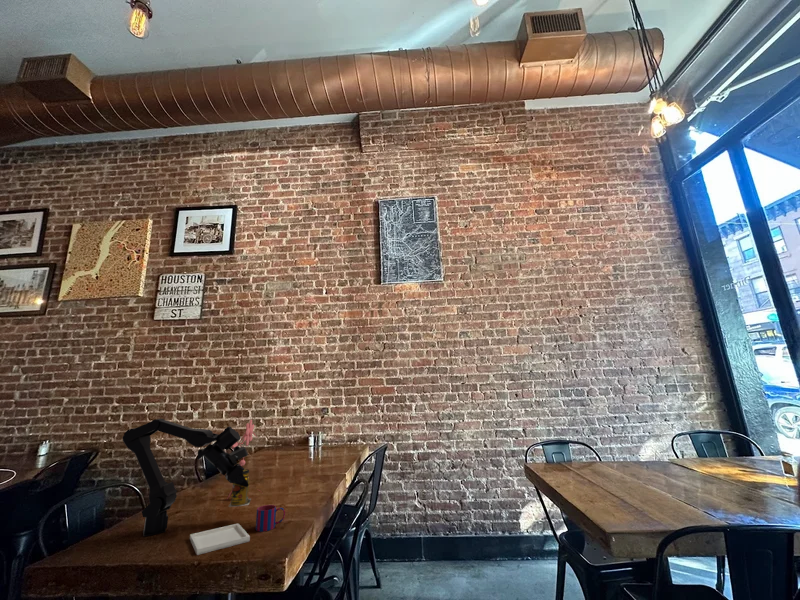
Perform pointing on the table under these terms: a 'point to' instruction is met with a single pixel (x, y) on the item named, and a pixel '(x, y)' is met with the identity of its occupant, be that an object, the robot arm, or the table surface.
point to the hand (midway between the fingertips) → (246, 484)
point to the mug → (267, 518)
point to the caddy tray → (218, 538)
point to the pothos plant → (247, 438)
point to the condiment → (240, 492)
